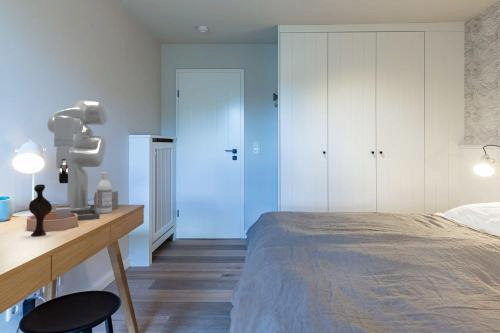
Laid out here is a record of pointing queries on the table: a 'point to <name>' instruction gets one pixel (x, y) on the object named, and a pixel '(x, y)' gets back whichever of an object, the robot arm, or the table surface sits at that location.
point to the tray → (85, 217)
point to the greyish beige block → (63, 206)
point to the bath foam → (104, 195)
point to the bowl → (53, 222)
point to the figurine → (39, 210)
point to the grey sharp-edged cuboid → (63, 213)
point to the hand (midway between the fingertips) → (63, 182)
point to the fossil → (114, 200)
